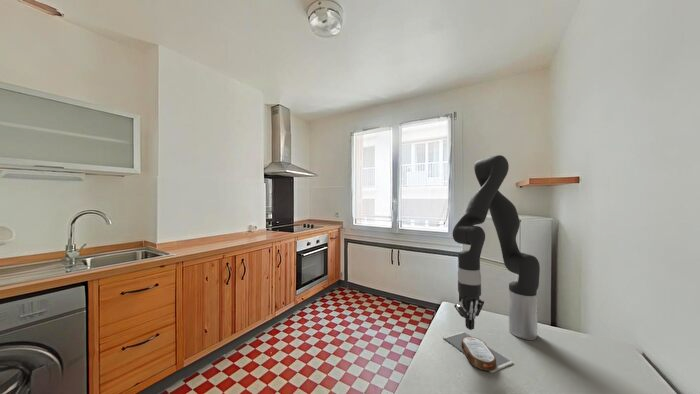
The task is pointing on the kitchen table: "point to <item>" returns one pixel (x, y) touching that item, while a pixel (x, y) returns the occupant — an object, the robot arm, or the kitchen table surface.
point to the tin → (478, 353)
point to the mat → (500, 360)
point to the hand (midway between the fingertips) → (469, 328)
